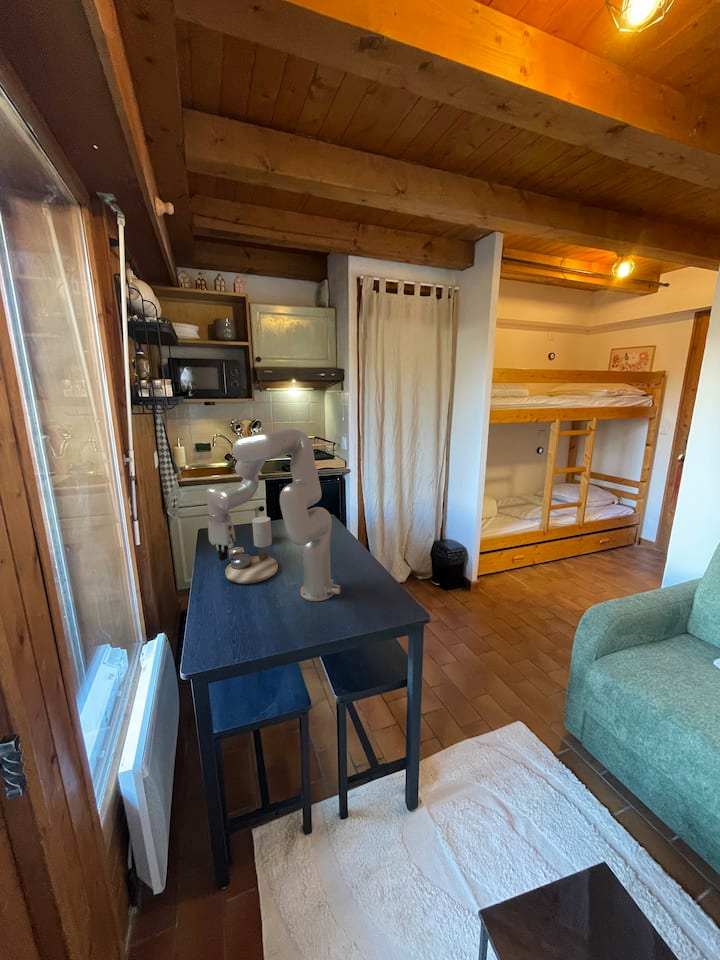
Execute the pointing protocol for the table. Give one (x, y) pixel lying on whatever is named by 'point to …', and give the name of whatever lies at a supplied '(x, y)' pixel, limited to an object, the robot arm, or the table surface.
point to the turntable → (254, 570)
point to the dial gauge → (235, 551)
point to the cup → (262, 531)
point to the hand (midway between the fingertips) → (223, 559)
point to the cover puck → (241, 561)
